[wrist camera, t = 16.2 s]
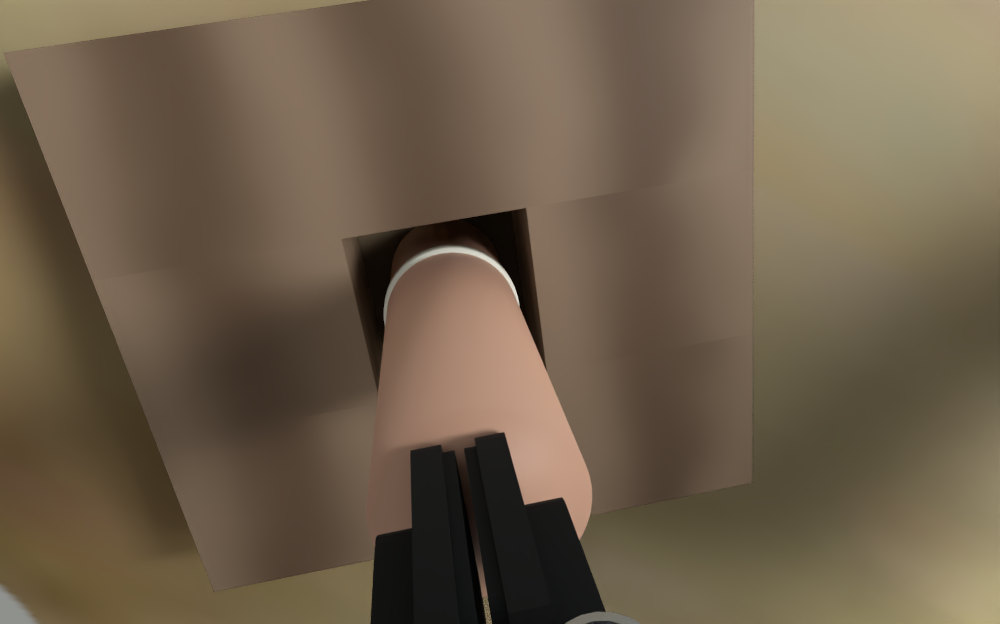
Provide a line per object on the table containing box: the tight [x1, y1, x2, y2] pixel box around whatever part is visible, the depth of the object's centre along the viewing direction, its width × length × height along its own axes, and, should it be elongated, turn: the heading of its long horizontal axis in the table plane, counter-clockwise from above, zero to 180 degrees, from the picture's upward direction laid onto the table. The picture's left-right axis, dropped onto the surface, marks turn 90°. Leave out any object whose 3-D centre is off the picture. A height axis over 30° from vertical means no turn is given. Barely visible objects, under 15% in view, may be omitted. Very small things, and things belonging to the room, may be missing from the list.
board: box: [4, 0, 754, 592], centre depth 23 cm, size 20×18×4 cm
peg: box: [366, 220, 592, 597], centre depth 18 cm, size 4×4×14 cm
